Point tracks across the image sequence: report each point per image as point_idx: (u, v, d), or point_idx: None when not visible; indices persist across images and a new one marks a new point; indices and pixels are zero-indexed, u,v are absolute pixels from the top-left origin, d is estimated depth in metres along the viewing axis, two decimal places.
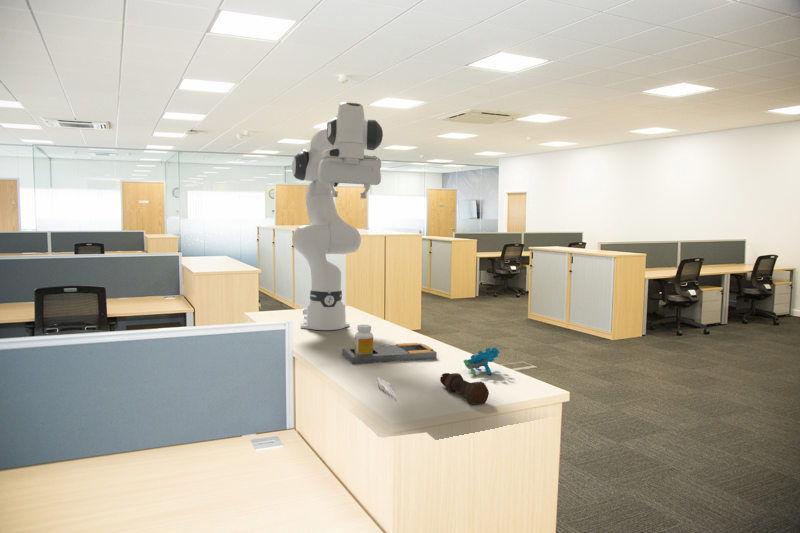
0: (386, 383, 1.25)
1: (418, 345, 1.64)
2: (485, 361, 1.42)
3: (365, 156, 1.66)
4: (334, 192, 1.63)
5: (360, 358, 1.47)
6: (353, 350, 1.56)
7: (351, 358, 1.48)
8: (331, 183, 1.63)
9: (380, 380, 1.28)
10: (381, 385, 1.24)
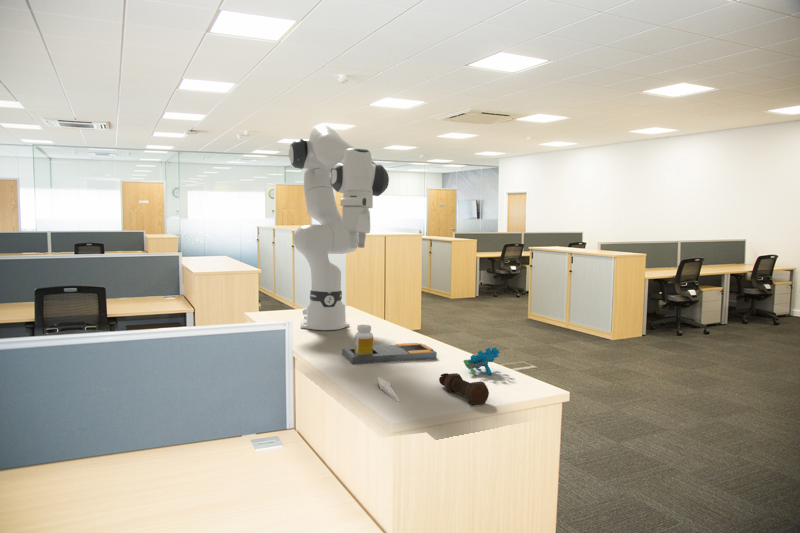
0: (386, 383, 1.25)
1: (418, 345, 1.64)
2: (485, 361, 1.42)
3: None
4: (356, 243, 1.52)
5: (360, 358, 1.47)
6: (353, 350, 1.56)
7: (351, 358, 1.48)
8: (355, 234, 1.51)
9: (380, 380, 1.28)
10: (381, 385, 1.24)
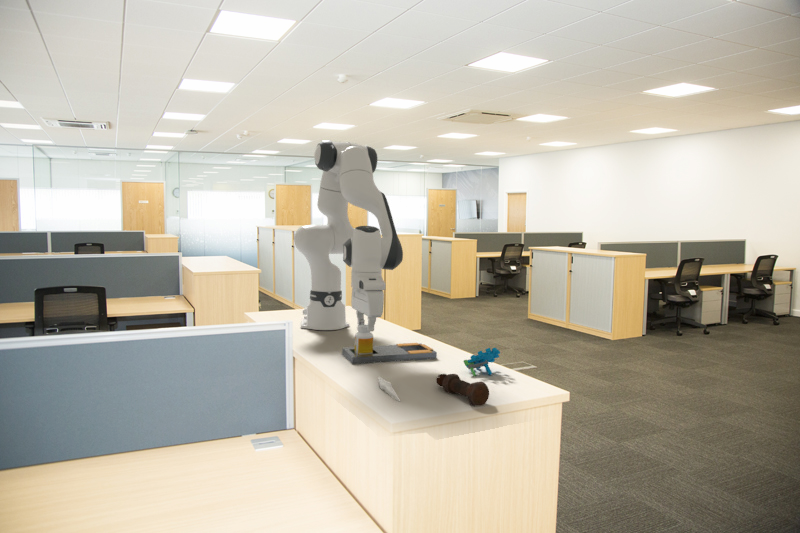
0: (387, 382, 1.25)
1: (418, 345, 1.64)
2: (485, 361, 1.41)
3: None
4: None
5: (360, 358, 1.47)
6: (353, 350, 1.56)
7: (351, 358, 1.48)
8: None
9: (381, 379, 1.28)
10: (382, 384, 1.24)
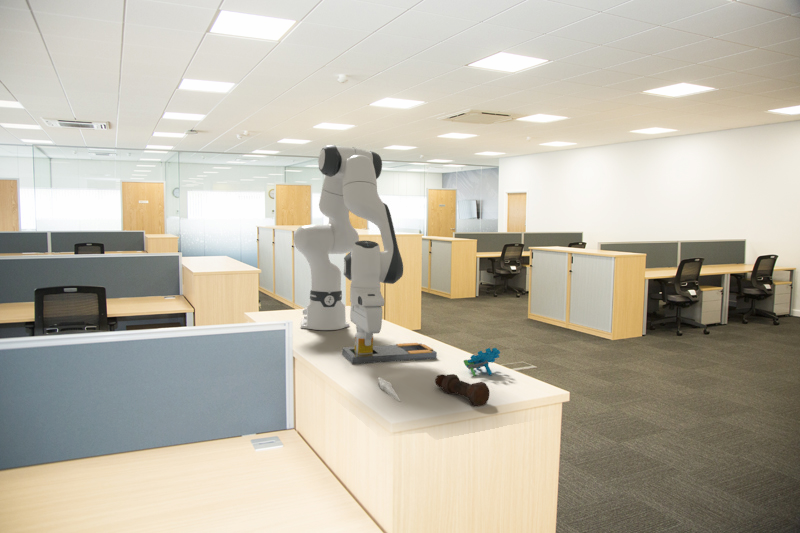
0: (387, 383, 1.25)
1: (418, 345, 1.64)
2: (485, 361, 1.41)
3: None
4: None
5: (360, 358, 1.47)
6: (353, 350, 1.56)
7: (351, 358, 1.48)
8: None
9: (381, 380, 1.28)
10: (382, 385, 1.24)
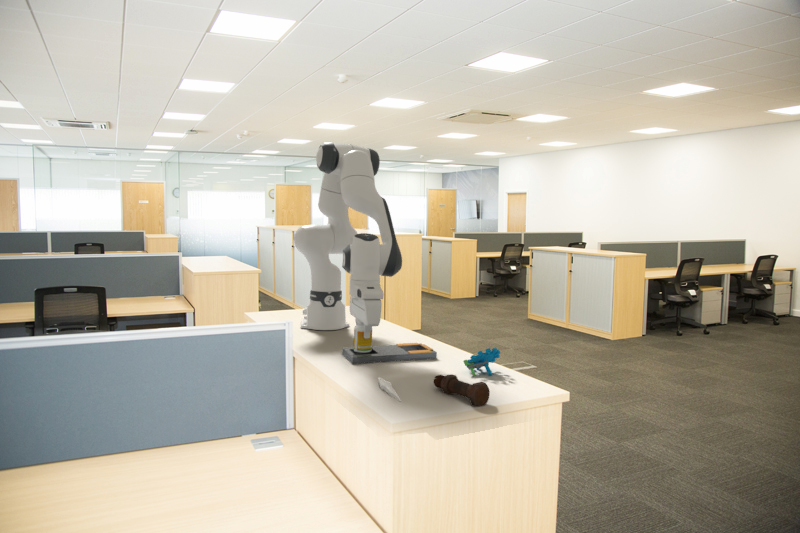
0: (387, 382, 1.25)
1: (418, 345, 1.64)
2: (485, 361, 1.41)
3: None
4: None
5: (360, 358, 1.47)
6: (353, 350, 1.56)
7: (351, 358, 1.48)
8: None
9: (381, 380, 1.28)
10: (382, 385, 1.24)
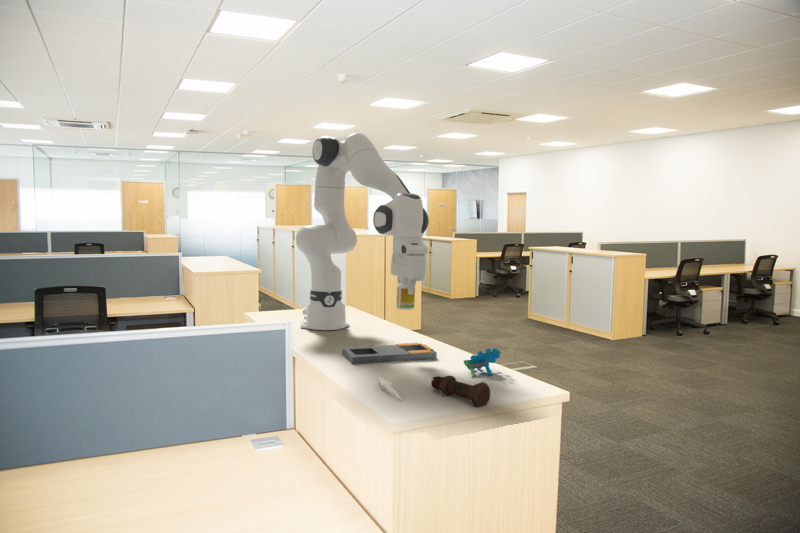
0: (388, 383, 1.25)
1: (418, 345, 1.64)
2: (486, 362, 1.41)
3: None
4: None
5: (360, 358, 1.47)
6: (353, 350, 1.56)
7: (351, 358, 1.48)
8: None
9: (381, 380, 1.28)
10: (383, 385, 1.25)
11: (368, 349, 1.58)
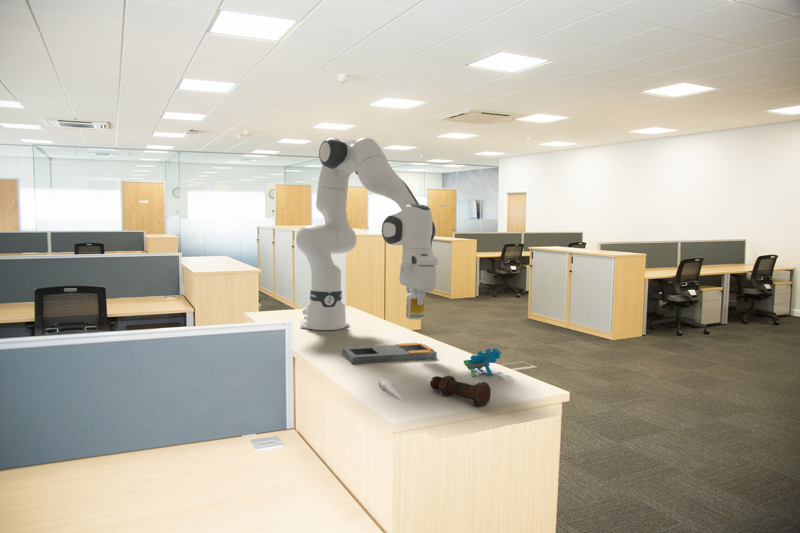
0: (388, 382, 1.25)
1: (418, 345, 1.64)
2: (486, 362, 1.41)
3: None
4: None
5: (360, 358, 1.47)
6: (353, 350, 1.56)
7: (351, 358, 1.48)
8: None
9: (381, 380, 1.28)
10: (383, 385, 1.25)
11: (368, 349, 1.58)
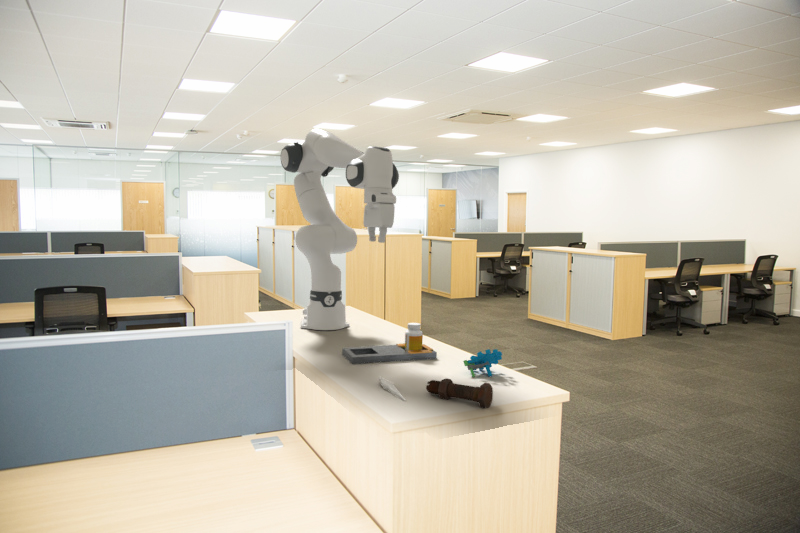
0: (389, 382, 1.26)
1: None
2: (486, 363, 1.40)
3: None
4: None
5: (360, 358, 1.47)
6: (353, 350, 1.56)
7: (351, 358, 1.48)
8: None
9: (382, 379, 1.28)
10: (385, 384, 1.25)
11: (368, 349, 1.58)
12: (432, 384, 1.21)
